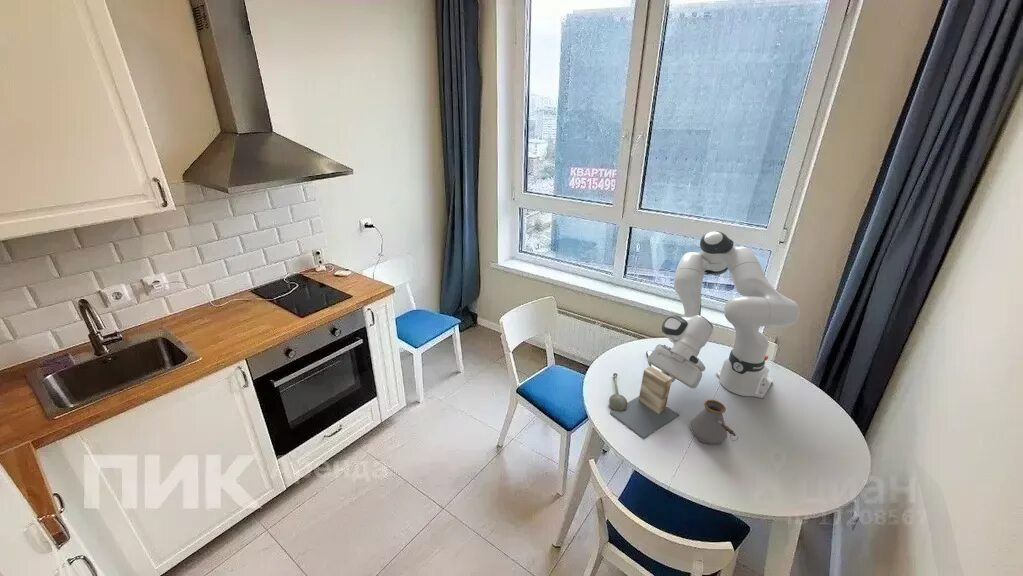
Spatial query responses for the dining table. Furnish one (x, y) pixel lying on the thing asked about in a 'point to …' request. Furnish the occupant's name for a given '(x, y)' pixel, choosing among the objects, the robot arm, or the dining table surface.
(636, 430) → the charcoal rubber mat
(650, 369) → the brown wooden block
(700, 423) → the coffee pot
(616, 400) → the soupspoon
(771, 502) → the dining table surface
